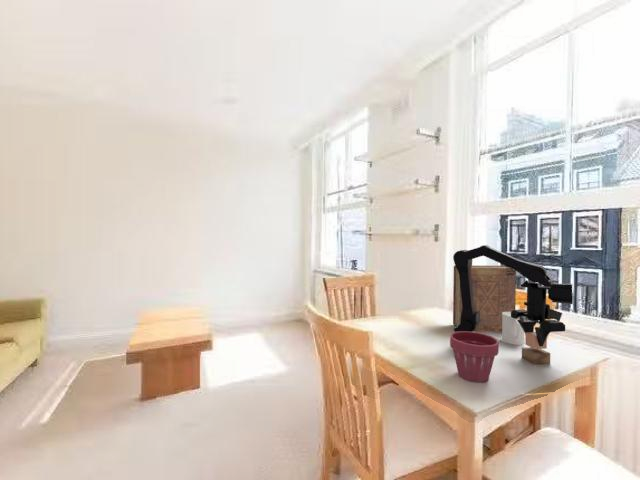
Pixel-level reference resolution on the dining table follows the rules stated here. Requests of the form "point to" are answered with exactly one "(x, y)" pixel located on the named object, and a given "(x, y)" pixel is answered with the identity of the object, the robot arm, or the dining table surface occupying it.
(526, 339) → the cube
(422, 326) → the dining table surface
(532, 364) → the gray square frame
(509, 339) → the mug
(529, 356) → the base block
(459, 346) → the plant pot
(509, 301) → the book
